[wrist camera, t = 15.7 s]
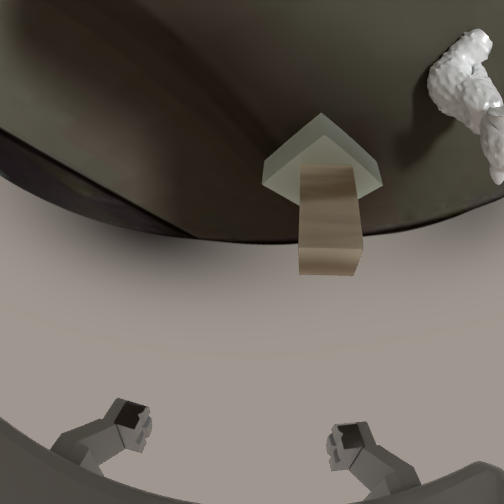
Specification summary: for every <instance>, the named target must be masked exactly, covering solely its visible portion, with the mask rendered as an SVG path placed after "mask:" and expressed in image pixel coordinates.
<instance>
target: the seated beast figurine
mask: <svg viewBox="0 0 504 504" xmlns="http://www.w3.org/2000/svg"><path fill="white" fill-rule="evenodd" d="M491 49H492V42H491V40H490V39H489V38H488V36H487V35H486V34H485V33H484V32H483V31H482V30H480V29H474V30H471V31H470V32H464V36H461V38H460V39H459V40H458V41H456V43H455V44H453V45H452V46H450V48H449V50H448V51H447V52H444V53H443V56H442V57H441V58H440V59H439V60H437V61H436V62H434V63H433V66H431V67H430V70H429V75H428V78H427V88H428V90H429V93H428V94H429V96H430V97H431V99H432V100H433V102H434V103H435V104H436V105H437V106H438V109H439V111H442V113H445V114H446V115H448V116H453V117H455V118H456V119H457V120H458V121H461V122H462V123H464V124H465V126H466V127H468V128H470V129H471V130H472V131H473V132H474V133H475V134H479V135H481V138H480V143H481V146H482V149H483V152H484V155H485V156H486V157H487V158H488V160H489V162H490V164H491V165H490V169H489V171H490V175H491V177H492V179H493V180H494V182H495V183H496V184H498V185H500V184H501V183H502V182H503V180H504V105H503V101H502V98H501V96H500V94H499V92H498V91H497V89H496V87H494V85H493V84H492V81H491V79H490V78H489V77H487V72H486V71H485V68H484V67H483V66H482V65H481V62H482V61H484V60H487V59H488V54H489V53H490V50H491ZM472 73H473V74H472Z"/></svg>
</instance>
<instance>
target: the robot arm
mask: <svg viewBox="0 0 504 504" xmlns="http://www.w3.org/2000/svg"><path fill="white" fill-rule="evenodd" d="M149 413H150V410H149V407H147V406H144V405H140V404H137V403H133V402H130V401H127V400H124V399H120V398H117V399H116V400H115V401H114V403H113V404H112V406H111V407H110V409H109V410H108V412H107V413H106V415H105V417H104V418H103V419H98V420H95V421H93V422H91V423H88V424H85V425H83V426H81V427H78V428H75V429H73V430H70V431H67V432H65V433H62V434H61V435H60V437H59V438H58V439H57V441H56V442H55V443H54V445H53V446H52V448H51V449H50V450H49V449H47V448H45V447H44V446H42V445H40V444H39V443H37V442H35V441H34V440H32V439H30V438H29V437H28V436H26V435H25V434H23V433H22V432H20V431H19V430H17V429H16V428H14V427H13V426H12V425H10V424H9V423H8V422H7V421H5V420H4V419H2V418H1V417H0V504H199V503H193V502H188V501H183V500H178V499H173V498H170V497H165V496H161V495H157V494H154V493H150V492H146V491H143V490H140V489H137V488H134V487H131V486H128V485H125V484H122V483H119V482H116V481H114V480H111V479H108V478H106V477H104V475H103V473H102V471H101V470H100V468H99V466H98V465H100V464H102V463H103V462H105V461H107V460H108V459H110V458H112V457H113V456H115V455H116V454H118V453H119V452H121V451H123V450H124V449H125V448H126V449H129V450H133V451H136V452H140V453H142V452H143V449H144V447H145V445H146V440H145V438H147V437H149V435H150V433H151V429H152V420H151V418H150V417H149ZM326 446H327V453H328V454H329V455H330V456H331V458H330V460H329V463H330V467H331V471H337V470H348V469H349V471H350V472H351V473H352V474H353V475H354V476H355V477H356V478H357V479H358V480H359V481H360V482H362V483H363V484H364V485H365V486H366V487H367V488H368V489H369V490H370V491H371V493H370V494H369V495H368V496H367V497H366V498H365V499H364V500H363V501H361V502H356V503H350V504H504V471H503V470H502V469H501V468H499V467H496V466H494V465H491V464H488V463H485V462H482V461H477V462H474V463H472V464H470V465H468V466H466V467H464V468H462V469H460V470H457V471H455V472H453V473H451V474H448V475H446V476H444V477H442V478H439V479H437V480H434V481H431V482H429V483H426V484H423V485H421V483H420V480H419V478H418V476H417V474H416V472H415V469H414V467H413V466H411V465H409V464H408V463H406V462H405V461H403V460H401V459H400V458H398V457H397V456H395V455H394V454H392V453H390V452H389V451H387V450H386V449H384V448H383V447H381V446H380V445H376V443H375V441H374V438H373V435H372V433H371V431H370V428H369V426H368V423H367V422H356V423H344V424H335V425H334V426H333V428H332V434H330V435H329V437H328V439H327V444H326Z"/></svg>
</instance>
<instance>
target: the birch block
mask: <svg viewBox="0 0 504 504" xmlns="http://www.w3.org/2000/svg"><path fill="white" fill-rule="evenodd" d="M298 251H299V274H300V275H301V274H302V275H338V276H340V275H341V276H343V275H344V276H353V275H354V272H355V270H356V267H357V265H358V262H359V260H360V257H361V254H362V251H363V239H362V229H361V221H360V212H359V205H358V198H357V191H356V184H355V178H354V172H353V167H352V165H324V164H300V212H299V243H298Z"/></svg>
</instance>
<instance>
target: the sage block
mask: <svg viewBox="0 0 504 504" xmlns="http://www.w3.org/2000/svg"><path fill="white" fill-rule="evenodd" d="M300 164H324V165H352V167H353V172H354V178H355V184H356V191H357V198H358V199H359V198H361V197H363V196H365V195H367V194H369V193H370V192H372V191H374V190H376V189H378V188H379V187H381V186H383V184H382V180H381V176H380V172H379V168H378V165H377V162H376V161H375V160H374V159H373V158H372V157H371V156H370V155H369V154H368V153H367V152H366V151H365V150H364V149H363V148H362V147H361V146H360V145H359V144H357V143H356V142H355V141H354V140H353V139H352V138H351V137H350V136H349V135H347V134H346V133H345V132H344V131H343V130H342V129H341V128H339V127H338V126H337V125H336V124H335V123H333V122H332V121H331V120H330V119H329V118H327V117H326V116H325V115H324V114H322V113H320V114H319V115H318V116H316V117H315V118H314V119H313V120H311V121H310V122H309V123H308V124H307V125H305V126H304V127H303V128H302V129H301V130H299V131H298V132H297V133H296V134H295V135H294V136H292V137H291V138H290V139H289V140H288V141H286V142H285V143H284V144H283V145H282V146H281V147H280V148H278V149H277V150H276V151H275V152H274V153H273V154H272V155H270V156H269V157H268V158H267V159H266V160H265V161H264V169H263V177H262V185H264V186H266V187H267V188H269V189H271V190H273V191H274V192H276V193H278V194H280V195H281V196H283V197H285V198H287V199H288V200H290V201H292V202H293V203H295V204H297V205H299V206H300Z"/></svg>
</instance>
